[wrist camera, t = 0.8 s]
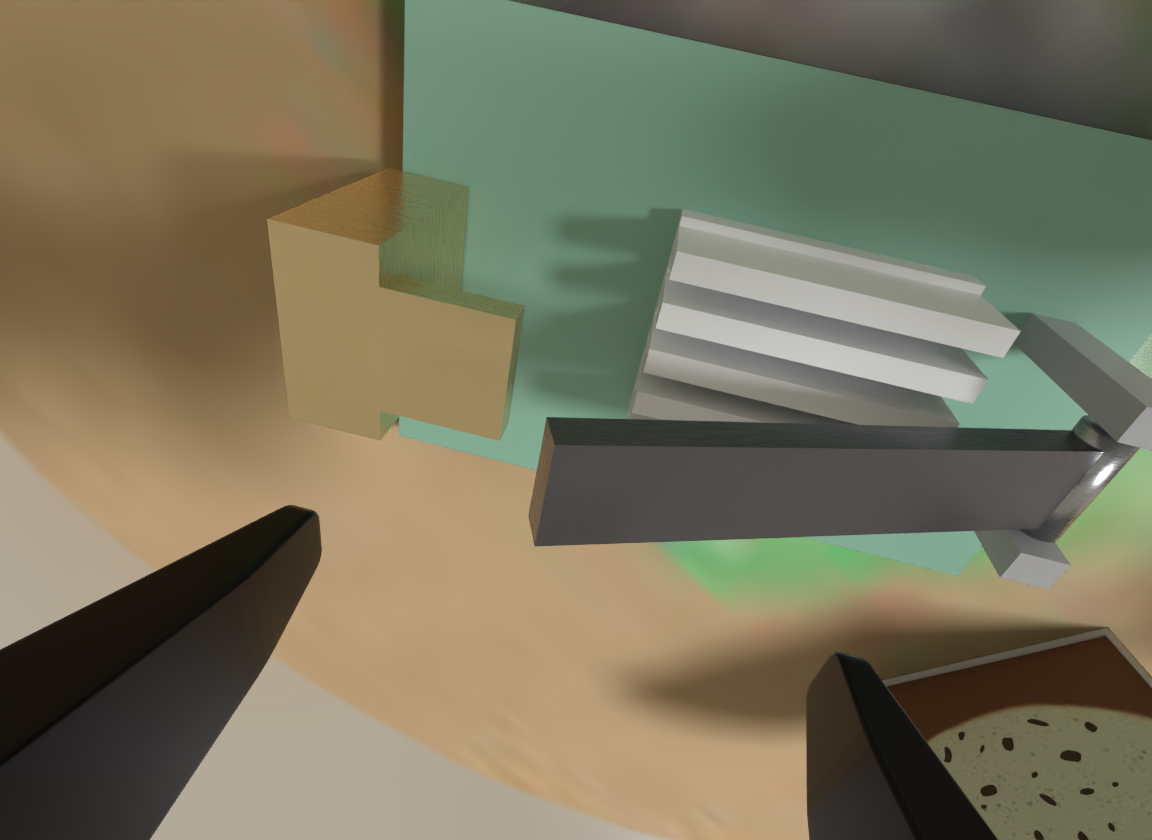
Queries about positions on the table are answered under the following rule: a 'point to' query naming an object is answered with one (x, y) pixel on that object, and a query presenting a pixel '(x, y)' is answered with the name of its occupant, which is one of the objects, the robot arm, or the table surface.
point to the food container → (1044, 736)
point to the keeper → (389, 311)
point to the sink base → (780, 245)
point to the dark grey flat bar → (810, 479)
